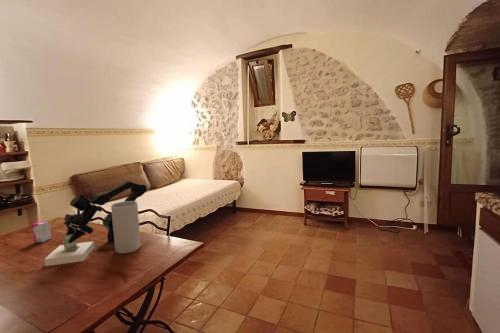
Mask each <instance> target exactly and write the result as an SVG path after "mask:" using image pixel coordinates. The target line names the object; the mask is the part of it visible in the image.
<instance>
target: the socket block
mask: <svg viewBox="0 0 500 333" xmlns="http://www.w3.org/2000/svg"><path fill="white" fill-rule="evenodd" d="M94 243H95V242H94V241H84V242H78V243H77V242H76V244H77V250H76V251H75V252H67V253H65V250H64V244H60V245H59V246H57V247H56V248H55V249H54V250H53V251H52V252H50V253H49V254H48V255H47V256H46V257H45V258H44V266H45V267H48V266H49V267H50V266H55V265H56V266H57V265H64V264H69V263H79V262H84V261H85V259H86V258H87V257H88V256H89V255H90V253H91V252H92V251H93V249H95V245H94Z"/></svg>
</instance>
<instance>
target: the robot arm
mask: <svg viewBox="0 0 500 333" xmlns="http://www.w3.org/2000/svg"><path fill="white" fill-rule="evenodd" d="M129 189H130V190H131V191H130V193H129V195H128V196H127V197H126V198H125V199H124V201H136V200H137V199H138V198H140V197H142V196H143V195H144V194H145V193H146V192H147V191H148V190H147V189H148V188H147V186H146V185H145V184H143V183H142V184H141V183H135V182H132V181H129V180H124V182H122V183H120V184H119V185H117V186H115V187H113V188H110V189H109V190H106V191H101V192H98V193H95V194H93V195H92V196H91V197H88V198H86V197H85V196H84V195H82V194H80V193H79V194H78V195H76V196H75V197H74V198H72V199H71V200H70V202H69V205H70V206H71V207H73V208H75V209H76V210H78V211H79V212H80V211H82V212H81V213H77V214H76V213H73V214H68V213H67V214H65V216H64V219H63V221H64V222H63V225H64V226H65V227H66V232H65V233H66V234H65V236H66V235H69V234H73V235H72V236H71V238H70V240H69V242H68V243H72V242H73V241H75V240H76V241H77V239H79V238H81V237H83V236H85V235H87V234H89V235H92V233H94V228H92V227H91V226H89V225H88V224H89V223H90V222H93V217H94V216H95V215H96V213H97V212H100V213H102V212H103V210H102V206H104V205H106V204H107V203H108V202H109V201H110V200H111V199H112V198H114V197H115V196H117V195H119V194H121V193H123V192H125V191H127V190H129ZM97 205H98V206H97ZM102 226H103V227H104V228H106V230H107V234H106V235H107V236H106V237H107V242H108V243H111V242H113V243H115V242H114V231H113V221H112V213H108V214H107V215H106V216H105V217H104V218H103V220H102Z"/></svg>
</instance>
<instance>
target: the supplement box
mask: <svg viewBox="0 0 500 333" xmlns="http://www.w3.org/2000/svg"><path fill="white" fill-rule="evenodd" d="M51 232H52V231H51V225H50V221H48V220H40V221H38V222H35V223H32V234H33V240H34V244H36V243H37V244H44V243H46V242H48V241H51V240H52V235H51V234H52V233H51Z"/></svg>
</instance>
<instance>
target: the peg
mask: <svg viewBox="0 0 500 333" xmlns="http://www.w3.org/2000/svg"><path fill="white" fill-rule="evenodd" d="M72 235H73V234H69V235H66V234H65V235H62V241H63V245H64V250H65V253H67V252H75V251H76V250H77V244H76V243H77V239H76V240H75V241H73V242H72V243H68V242H69V240H70V238H71V236H72Z"/></svg>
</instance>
